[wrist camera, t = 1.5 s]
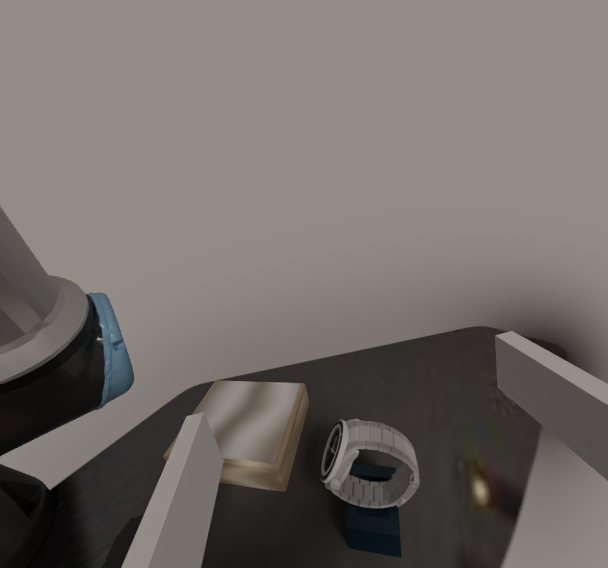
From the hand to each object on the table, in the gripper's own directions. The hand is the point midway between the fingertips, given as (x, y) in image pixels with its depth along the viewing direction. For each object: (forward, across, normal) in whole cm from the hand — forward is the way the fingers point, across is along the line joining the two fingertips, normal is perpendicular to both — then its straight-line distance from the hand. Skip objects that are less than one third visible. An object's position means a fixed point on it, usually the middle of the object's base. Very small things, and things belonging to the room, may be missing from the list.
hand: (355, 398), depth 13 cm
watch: (+8, 0, -21) cm, 22 cm away
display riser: (+20, -13, -19) cm, 30 cm away
